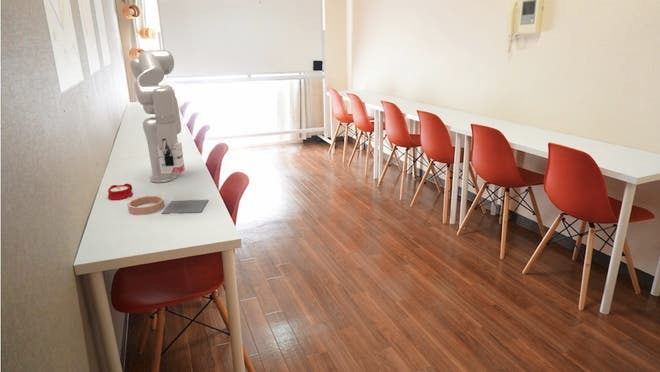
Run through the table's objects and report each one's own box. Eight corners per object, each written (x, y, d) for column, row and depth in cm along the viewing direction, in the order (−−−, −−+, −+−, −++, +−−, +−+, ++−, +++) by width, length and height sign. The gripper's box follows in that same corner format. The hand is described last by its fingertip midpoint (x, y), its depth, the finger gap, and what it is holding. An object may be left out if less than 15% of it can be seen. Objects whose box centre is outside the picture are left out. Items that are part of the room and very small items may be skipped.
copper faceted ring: (136, 202, 191) (135, 196, 190) (167, 201, 192) (166, 195, 191) (123, 215, 179) (122, 208, 178) (157, 213, 179) (156, 207, 178)
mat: (171, 201, 192) (171, 200, 192) (208, 200, 193) (208, 199, 193) (161, 214, 179) (161, 213, 179) (201, 212, 179) (200, 211, 179)
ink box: (185, 169, 183) (181, 141, 179) (181, 173, 178) (177, 144, 174) (164, 169, 183) (160, 141, 179) (160, 173, 178) (156, 144, 174)
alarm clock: (104, 195, 192) (107, 178, 204) (107, 206, 195) (110, 189, 207) (130, 191, 195) (131, 175, 207) (133, 203, 198) (133, 186, 210)
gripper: (163, 116, 181) (169, 158, 187) (148, 124, 165) (155, 170, 171) (181, 115, 182) (187, 157, 188) (168, 123, 165) (174, 169, 171)
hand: (172, 163), depth 179 cm, fingers closed on ink box, 5 cm apart
